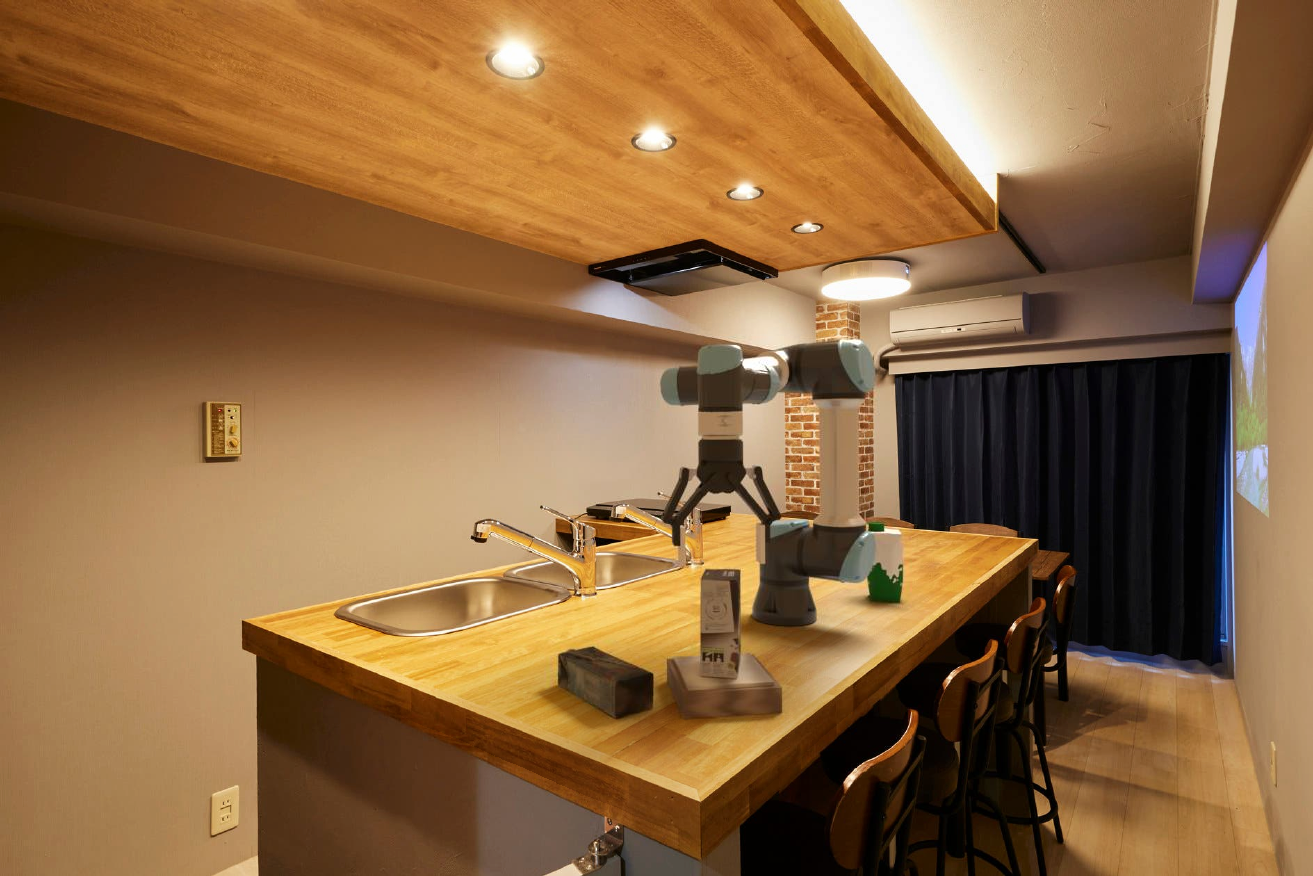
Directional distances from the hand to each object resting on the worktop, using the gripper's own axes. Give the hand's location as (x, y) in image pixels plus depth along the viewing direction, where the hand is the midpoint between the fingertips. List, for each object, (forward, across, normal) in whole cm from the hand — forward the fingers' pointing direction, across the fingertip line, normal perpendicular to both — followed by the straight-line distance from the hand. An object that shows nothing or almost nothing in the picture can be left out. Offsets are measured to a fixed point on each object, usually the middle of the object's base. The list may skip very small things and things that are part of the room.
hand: (721, 564), depth 114 cm
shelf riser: (+22, 0, 0) cm, 22 cm away
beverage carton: (+23, -20, +3) cm, 30 cm away
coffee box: (+18, 0, 0) cm, 18 cm away
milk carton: (+23, +58, +57) cm, 84 cm away
